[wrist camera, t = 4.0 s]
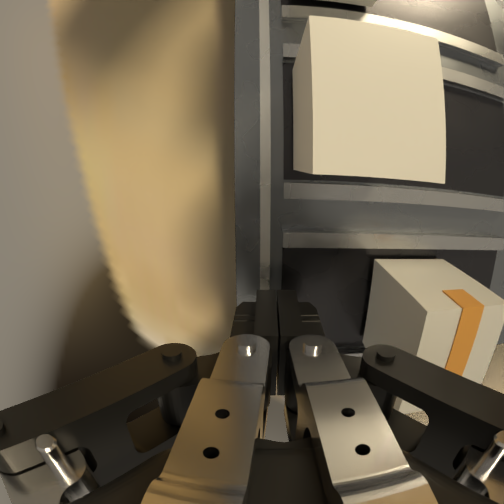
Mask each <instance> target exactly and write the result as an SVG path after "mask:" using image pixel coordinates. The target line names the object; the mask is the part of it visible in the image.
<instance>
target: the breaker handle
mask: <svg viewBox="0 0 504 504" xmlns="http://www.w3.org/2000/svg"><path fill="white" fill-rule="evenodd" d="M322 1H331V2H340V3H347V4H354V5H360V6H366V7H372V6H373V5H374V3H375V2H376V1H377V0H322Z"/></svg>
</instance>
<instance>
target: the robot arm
mask: <svg viewBox="0 0 504 504" xmlns="http://www.w3.org/2000/svg"><path fill="white" fill-rule="evenodd" d="M276 376H277V395H285V406H284V416H285V421H286V428H287V434H288V439H289V442H285V443H284V442H276V441H271V440H265V439H264V437H265V430H266V422H267V412H268V406H269V404H270V395H276ZM397 397H399V398H401V399H403V400H404V401H406V402H408V403H410V404H412V405H414V406H416V407H418V408H420V409H422V410H423V411H425V412H426V414H427V415H428V418H429V424H428V426H425V425H423V424H422V423H420V422H418V421H416V420H414V419H412V418H410V417H408V416H406V415H405V414H403V413H401V412H399V411H397V410H395V409H394V408H393V407H394V404H395V401H396V398H397ZM155 399H158V403H159V407H158V408H156V409H154V410H152V411H150V412H148V413H146V414H145V415H143V416H141V417H139V418H137V419H135V420H133V421H132V422H129V423H127V424H126V420H127V418H128V416H129V414H130V413H131V412H133V411H134V410H136V409H138V408H140V407H142V406H144V405H145V404H148V403H150V402H151V401H153V400H155ZM0 476H1V478H2V480H3V483H4V485H5V488H6V490H7V493H8V495H9V498H10V500H11V503H12V504H504V394H502V393H500V392H498V391H495V390H493V389H490V388H488V387H486V386H483V385H481V384H479V383H476V382H474V381H472V380H469V379H467V378H465V377H462V376H460V375H458V374H456V373H453V372H451V371H449V370H446V369H444V368H442V367H440V366H437V365H435V364H433V363H430V362H428V361H426V360H424V359H421V358H419V357H417V356H415V355H413V354H410V353H408V352H406V351H404V350H401V349H399V348H397V347H394V346H391V345H385V344H378V345H372V346H370V347H368V348H366V349H365V350H364V351H363V355H362V357H356V356H349V355H345V354H341V353H339V352H338V350H337V348H336V346H335V344H334V342H332V341H331V340H330V339H328V338H326V337H325V334H324V331H323V327H322V324H321V322H320V318H319V316H318V312H317V309H316V307H314V306H313V305H312V304H311V303H310V302H298V299H297V294H296V290H277V294H276V292H275V290H257V293H256V302H242V303H241V304H240V305H238V306H237V307H236V311H235V316H234V321H233V326H232V331H231V336H230V338H228V339H227V340H226V341H225V342H224V343H223V345H222V348H221V350H220V352H218V353H216V354H212V355H207V356H200V357H196V352H195V350H194V349H193V348H192V347H190V346H188V345H185V344H180V343H170V344H164V345H161V346H158V347H156V348H154V349H152V350H149V351H147V352H145V353H143V354H140V355H138V356H136V357H133V358H131V359H129V360H127V361H124V362H122V363H120V364H117V365H115V366H113V367H110V368H108V369H105V370H103V371H101V372H98V373H96V374H94V375H91V376H89V377H86V378H84V379H82V380H79V381H77V382H74V383H72V384H69V385H67V386H64V387H62V388H59V389H57V390H54V391H52V392H49V393H47V394H44V395H41V396H39V397H36V398H34V399H31V400H28V401H26V402H23V403H21V404H18V405H15V406H12V407H10V408H7V409H4V410H2V411H0Z"/></svg>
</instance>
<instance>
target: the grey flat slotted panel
mask: <svg viewBox="0 0 504 504" xmlns="http://www.w3.org/2000/svg"><path fill="white" fill-rule="evenodd" d="M309 15H310V16H322V17H332V18H341V19H348V20H355V21H362V22H368V23H374V24H379V25H384V26H389V27H394V28H399V29H403V30H407V31H411V32H415V33H419V34H423V35H427V36H430V37H434V38H437V39H438V44H439V50H440V58H441V66H442V76H443V86H444V100H445V120H446V170H445V184H442V183H433V182H423V181H413V180H402V179H390V178H377V177H362V176H344V175H321V174H310V173H305V172H301V171H297V170H293V73H292V70H293V66H294V63H295V60H296V56H297V53H298V50H299V46H300V43H301V40H302V37H303V33H304V30H305V27H306V24H307V20H308V17H309ZM234 134H235V237H236V290H237V306H238V305H240V304H241V303H242V302H256V293H257V290H275V292H276V294H277V290H296V294H297V299H298V302H310V303H311V304H312V305H313V306H314V307H316V309H317V312H318V316H319V318H320V322H321V324H322V327H323V331H324V334H325V337H326V338H328V339H330V340H331V341H332V342H334V344H335V346H336V348H337V350H338V352H339V353H341V354H345V355H349V356H356V357H362V355H363V351H364V350H365V349H366V348H365V346H364V344H363V336H364V330H365V324H366V318H367V312H368V305H369V298H370V291H371V283H372V275H373V267H374V259H443V260H445V261H447V262H448V263H450V264H451V265H453V266H455V267H456V268H458V269H459V270H461V271H462V272H464V273H465V274H467V275H468V276H470V277H471V278H473V279H474V280H476V281H477V282H479V283H480V284H482V285H483V286H485V287H486V288H488V289H489V290H491V291H492V292H494V293H495V294H496V295H498V296H499V297H501V298H502V299H504V0H377V1H376V2H375V3H374V5H373V6H372V7H366V6H360V5H354V4H347V3H340V2H331V1H322V0H235V84H234ZM502 343H504V324H503V327H502V330H501V333H500V336H499V339H498V342H497V344H502Z"/></svg>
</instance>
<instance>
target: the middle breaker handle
mask: <svg viewBox="0 0 504 504" xmlns="http://www.w3.org/2000/svg"><path fill="white" fill-rule="evenodd" d="M292 73H293V170H297V171H301V172H305V173H310V174H321V175H344V176H362V177H377V178H390V179H402V180H413V181H423V182H433V183H442V184H445V170H446V120H445V100H444V86H443V76H442V66H441V58H440V50H439V44H438V39H437V38H434V37H430V36H427V35H423V34H419V33H415V32H411V31H407V30H403V29H399V28H394V27H389V26H384V25H379V24H374V23H368V22H362V21H355V20H348V19H341V18H332V17H322V16H310V15H309V17H308V20H307V24H306V27H305V30H304V33H303V37H302V40H301V43H300V46H299V50H298V53H297V56H296V60H295V63H294V66H293V70H292Z"/></svg>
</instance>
